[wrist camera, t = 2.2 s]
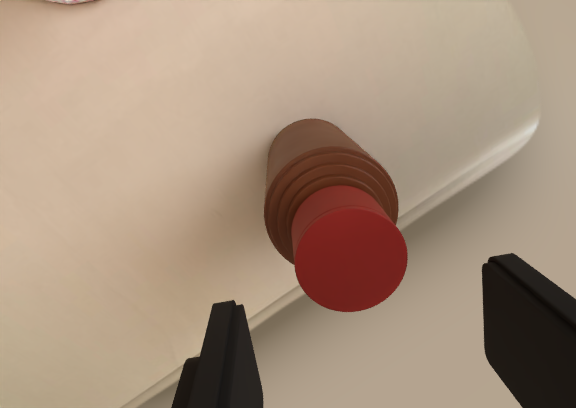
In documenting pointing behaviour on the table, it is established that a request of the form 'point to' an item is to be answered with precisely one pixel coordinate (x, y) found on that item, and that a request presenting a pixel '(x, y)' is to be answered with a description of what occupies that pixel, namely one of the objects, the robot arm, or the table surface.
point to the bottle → (317, 175)
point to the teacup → (69, 1)
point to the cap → (346, 249)
